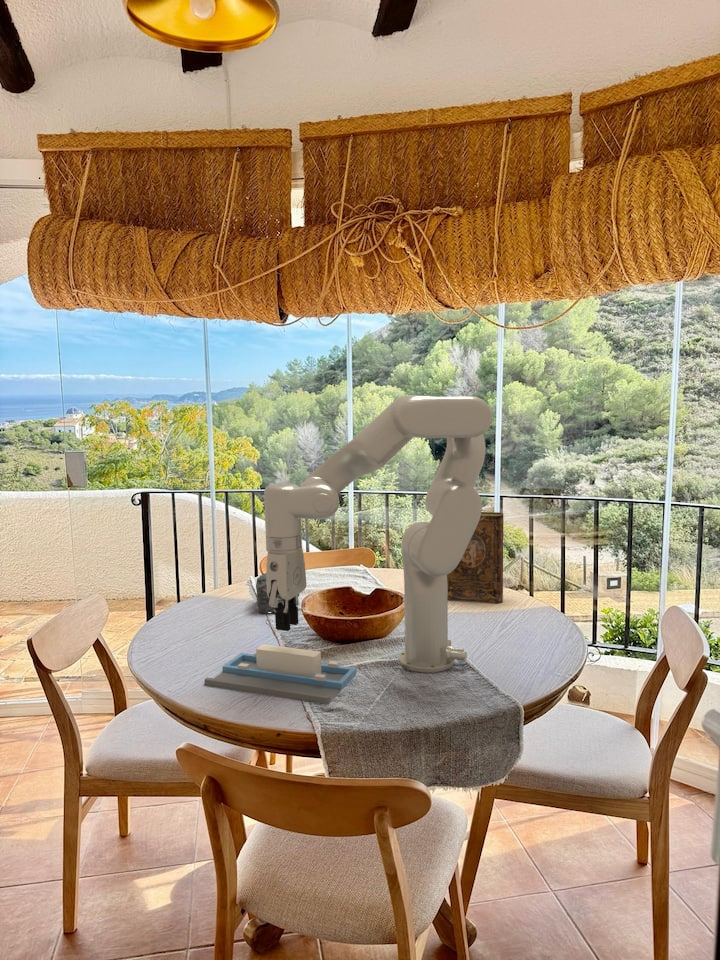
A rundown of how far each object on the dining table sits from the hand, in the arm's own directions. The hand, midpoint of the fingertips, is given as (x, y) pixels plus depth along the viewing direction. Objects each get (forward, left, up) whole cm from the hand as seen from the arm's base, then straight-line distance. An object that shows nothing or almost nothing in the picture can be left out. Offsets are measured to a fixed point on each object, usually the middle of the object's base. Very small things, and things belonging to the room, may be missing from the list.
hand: (287, 626), depth 150 cm
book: (-27, -64, -11) cm, 71 cm away
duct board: (0, +4, -11) cm, 12 cm away
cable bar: (0, 0, -10) cm, 10 cm away
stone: (+26, -40, -12) cm, 49 cm away
